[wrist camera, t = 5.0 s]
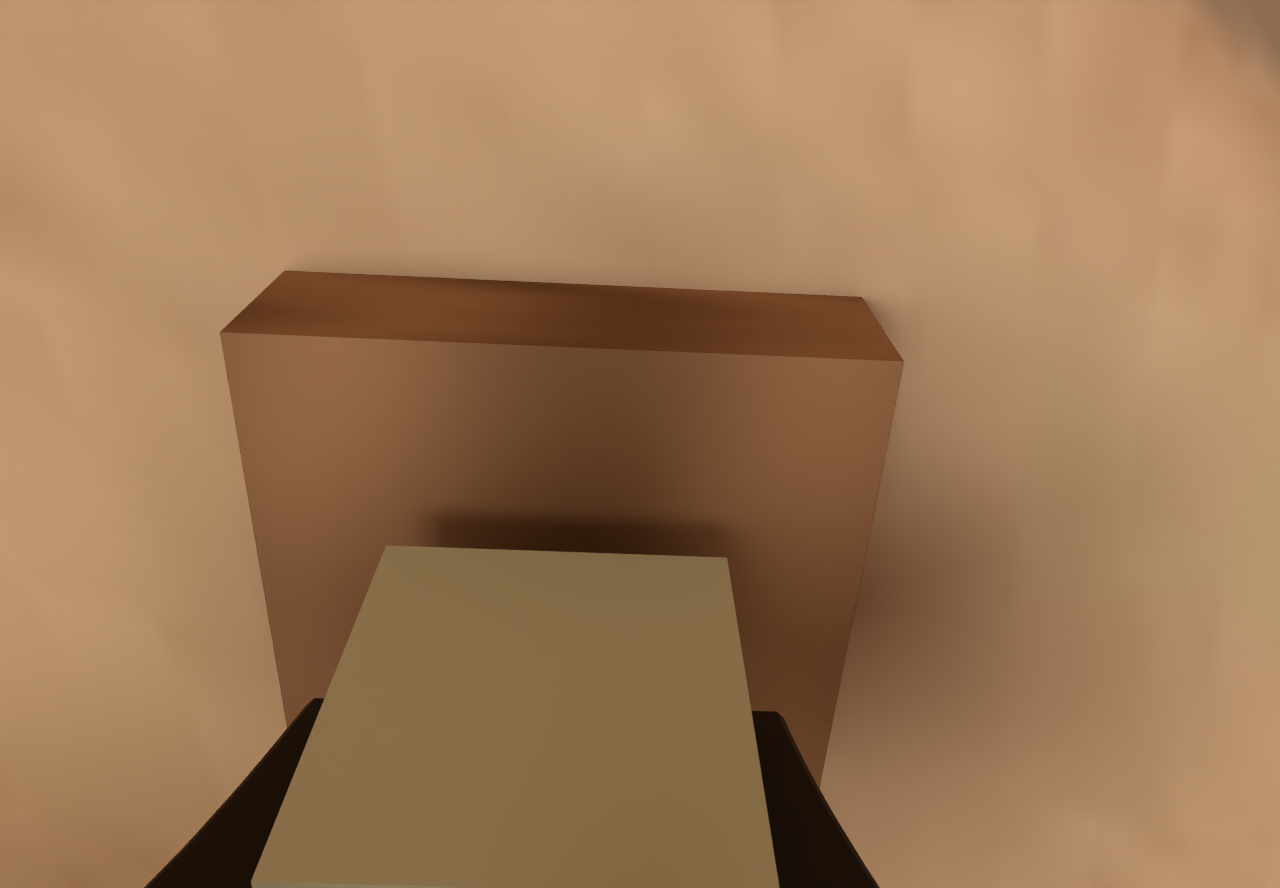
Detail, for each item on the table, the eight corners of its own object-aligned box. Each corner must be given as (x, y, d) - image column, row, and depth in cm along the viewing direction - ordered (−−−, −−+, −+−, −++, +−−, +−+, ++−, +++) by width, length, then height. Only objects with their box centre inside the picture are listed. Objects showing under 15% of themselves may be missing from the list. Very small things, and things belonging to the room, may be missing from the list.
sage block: (408, 787, 14) (312, 1159, 10) (386, 545, 12) (251, 882, 8) (699, 795, 15) (730, 1166, 10) (727, 557, 12) (780, 895, 8)
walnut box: (346, 693, 19) (301, 813, 16) (292, 262, 15) (219, 332, 12) (786, 706, 19) (812, 826, 17) (855, 288, 15) (903, 361, 13)
